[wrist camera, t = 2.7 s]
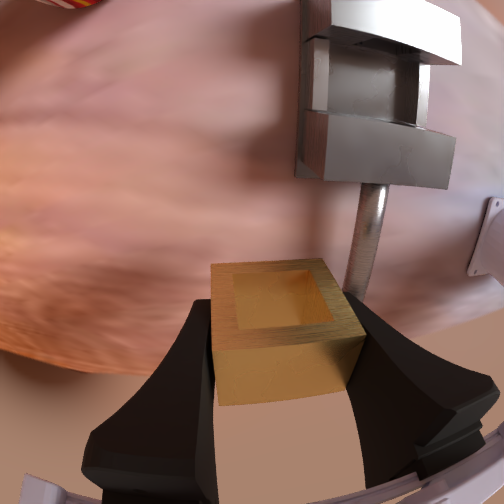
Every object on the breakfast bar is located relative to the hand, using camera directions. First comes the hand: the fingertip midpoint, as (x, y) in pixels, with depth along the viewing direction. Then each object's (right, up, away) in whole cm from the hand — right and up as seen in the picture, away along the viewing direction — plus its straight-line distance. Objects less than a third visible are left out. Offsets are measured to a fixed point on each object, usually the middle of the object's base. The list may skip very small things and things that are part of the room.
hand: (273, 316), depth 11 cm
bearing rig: (+6, +12, +3) cm, 14 cm away
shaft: (+6, +4, +7) cm, 10 cm away
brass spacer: (0, +1, +1) cm, 2 cm away
